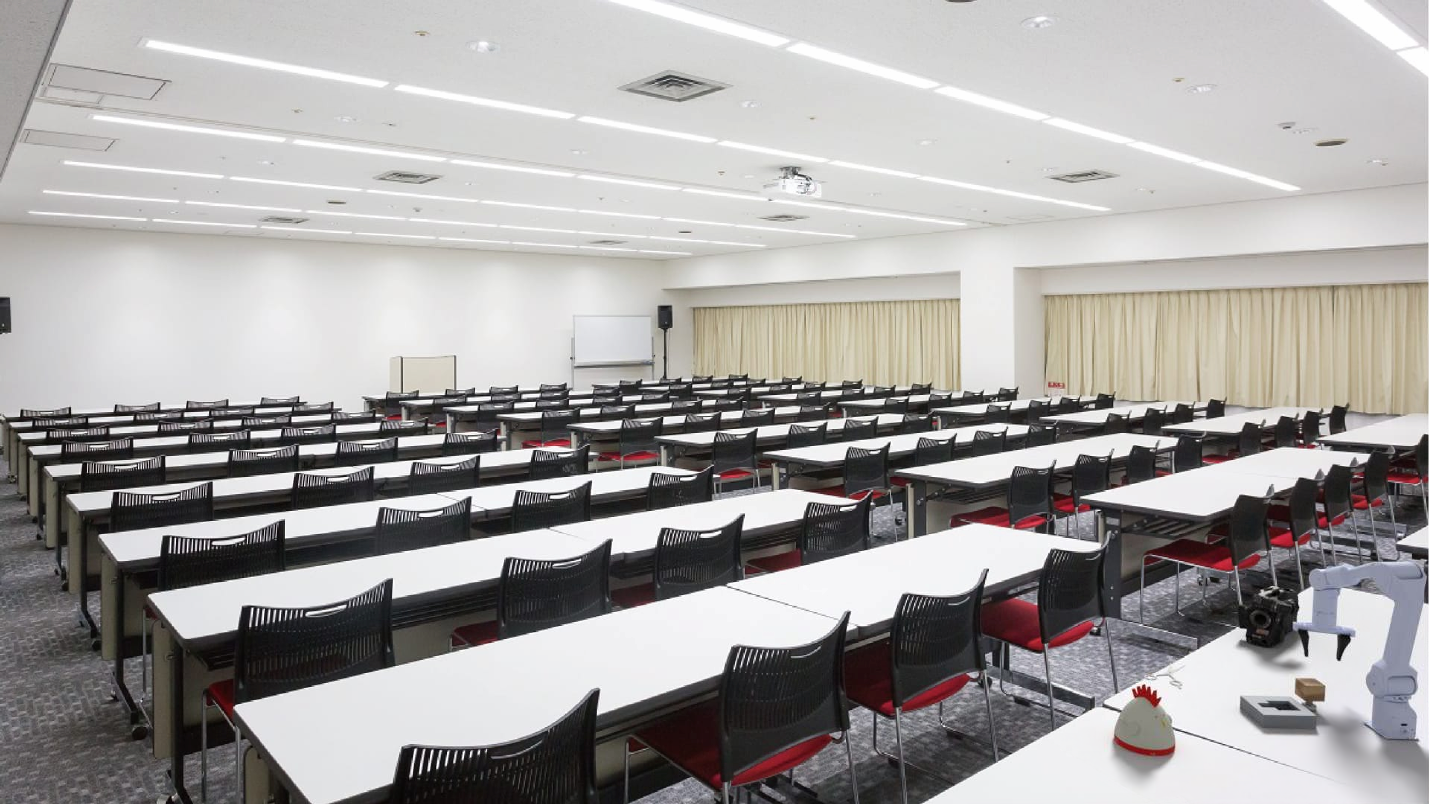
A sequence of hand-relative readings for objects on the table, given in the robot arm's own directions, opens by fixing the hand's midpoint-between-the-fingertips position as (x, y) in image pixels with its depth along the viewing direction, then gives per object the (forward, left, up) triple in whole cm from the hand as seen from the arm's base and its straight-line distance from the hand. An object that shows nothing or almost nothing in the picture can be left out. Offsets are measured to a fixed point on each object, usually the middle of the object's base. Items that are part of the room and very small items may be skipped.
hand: (1322, 657), depth 256 cm
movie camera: (+43, -10, -10) cm, 46 cm away
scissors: (+11, +37, -11) cm, 40 cm away
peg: (-12, +10, -10) cm, 18 cm away
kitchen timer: (-34, +62, -10) cm, 71 cm away
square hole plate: (-18, +21, -10) cm, 29 cm away
